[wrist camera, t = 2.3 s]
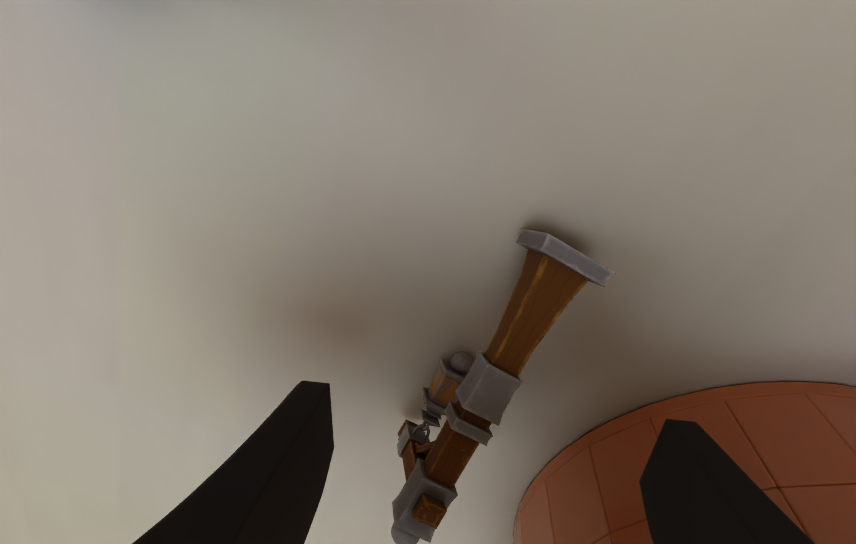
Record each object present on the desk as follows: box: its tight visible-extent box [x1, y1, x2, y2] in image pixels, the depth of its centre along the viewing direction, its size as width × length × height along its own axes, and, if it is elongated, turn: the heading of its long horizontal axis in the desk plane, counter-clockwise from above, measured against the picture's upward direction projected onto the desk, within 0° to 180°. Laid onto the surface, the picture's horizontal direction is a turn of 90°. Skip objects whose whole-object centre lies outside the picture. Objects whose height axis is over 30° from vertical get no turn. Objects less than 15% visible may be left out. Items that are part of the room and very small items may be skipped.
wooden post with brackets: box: [391, 228, 616, 544], centre depth 12 cm, size 2×8×4 cm, turn 150°
